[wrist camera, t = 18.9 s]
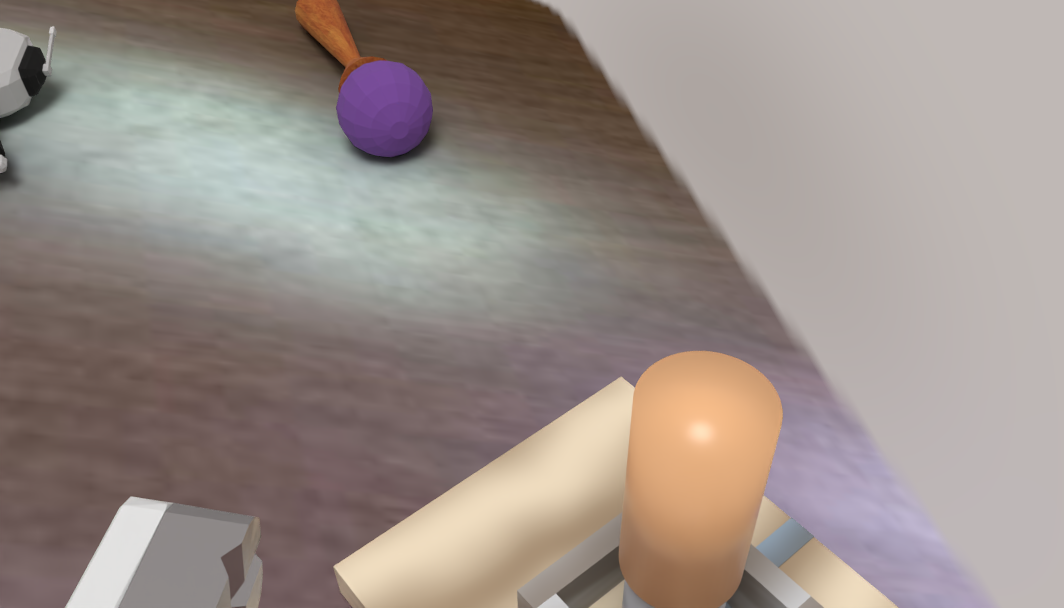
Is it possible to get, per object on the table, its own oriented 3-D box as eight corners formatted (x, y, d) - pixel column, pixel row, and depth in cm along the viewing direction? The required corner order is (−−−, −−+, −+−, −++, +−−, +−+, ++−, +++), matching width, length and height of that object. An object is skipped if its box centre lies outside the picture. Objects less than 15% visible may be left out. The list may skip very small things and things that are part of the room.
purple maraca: (357, -30, 75) (449, 82, 61) (354, 46, 78) (441, 169, 64) (276, -30, 73) (353, 87, 58) (277, 49, 76) (350, 177, 62)
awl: (587, 636, 38) (602, 397, 29) (665, 574, 40) (704, 330, 30) (665, 720, 36) (710, 491, 26) (744, 650, 38) (814, 411, 28)
